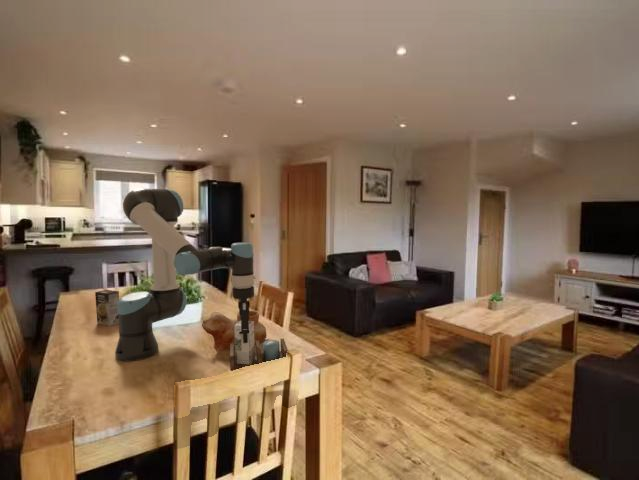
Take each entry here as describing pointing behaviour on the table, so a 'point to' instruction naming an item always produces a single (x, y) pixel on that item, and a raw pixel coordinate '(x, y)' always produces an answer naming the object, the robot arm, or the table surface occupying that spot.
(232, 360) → the slot rack
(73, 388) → the table surface
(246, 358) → the syrup box
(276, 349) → the grey-blue rounded cube
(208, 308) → the table surface
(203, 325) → the ceramic vessel
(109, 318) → the coffee box
